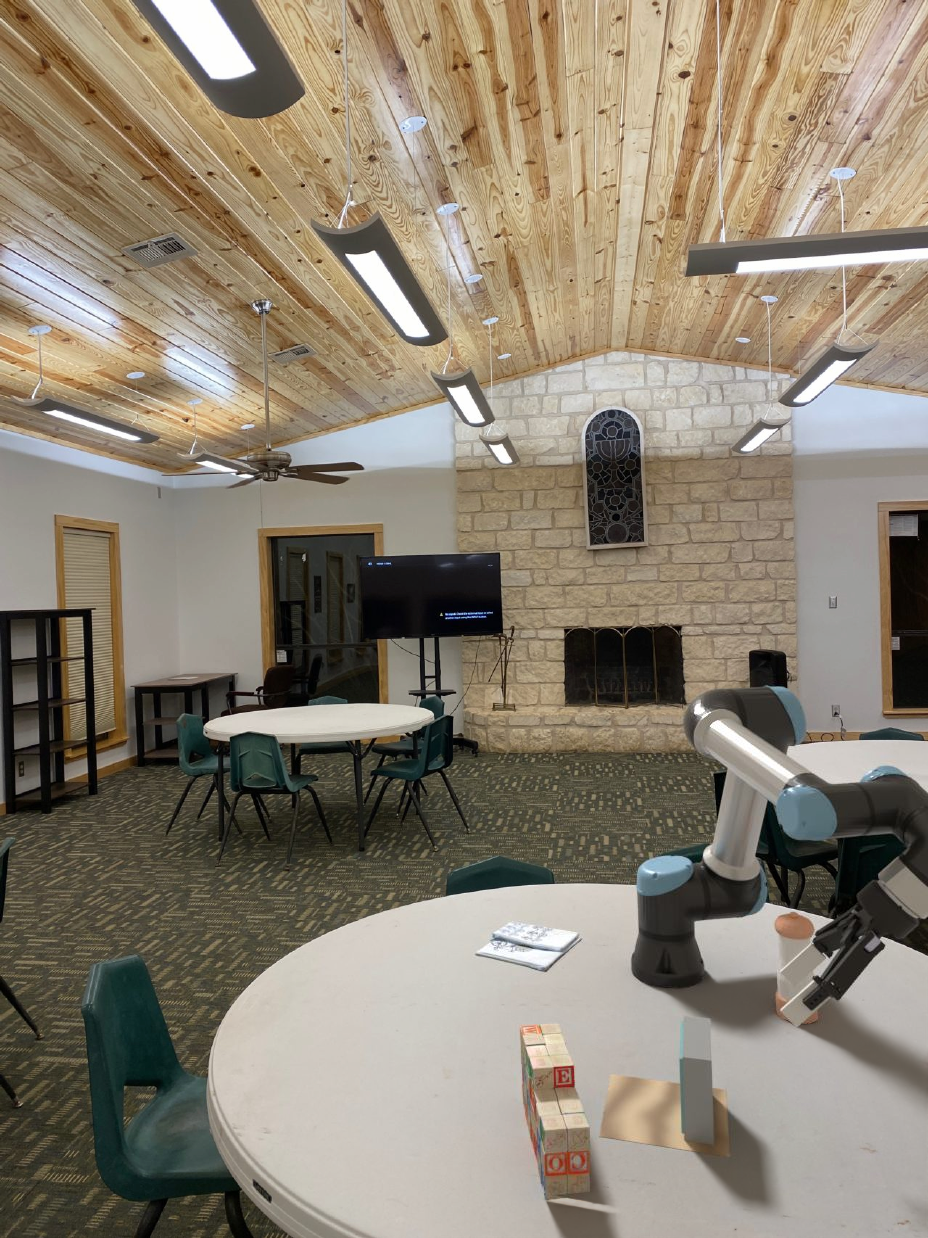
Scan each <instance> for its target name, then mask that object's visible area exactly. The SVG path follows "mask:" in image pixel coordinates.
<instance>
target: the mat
mask: <svg viewBox="0 0 928 1238" xmlns="http://www.w3.org/2000/svg"><path fill="white" fill-rule="evenodd" d="M608 1083H609V1084H608V1089H607V1093H606V1099H605V1104H604V1110H603V1114H602V1120H601V1127H600V1131H599V1135H598V1136H599V1138H605V1139H610V1140H611V1139H612V1140H617V1141H625V1142H631V1143H637V1144H642V1145H643V1144H644V1145H651V1146H654V1147H655V1146H656V1147H663V1148H670V1149H676V1150H680V1151H689V1152H694V1153H701V1154H707V1155H714V1156H720V1157H724V1158H725V1157H726V1158H731V1151H730V1137H729V1119H728V1103H727V1089H723V1088H716V1087H712V1090H713V1123H714V1145H710V1144H704V1143H697V1142H691V1141H685V1134H683V1133H682V1129H681V1096H680V1082H679V1083H678V1082H673V1081H672V1082H671V1081H666V1080H665V1081H663V1080H658V1079H657V1080H656V1079H648V1078H644V1077H643V1078H640V1077H635V1076H626V1075H619V1074H613V1073H612V1074H610V1077H609V1081H608Z"/></svg>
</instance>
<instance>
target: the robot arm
mask: <svg viewBox="0 0 928 1238" xmlns="http://www.w3.org/2000/svg"><path fill="white" fill-rule="evenodd" d="M683 731H684V732H683V733H684V734H685V737H686V739H687V742H688V743H689V744H690V745H691V747H692V748H693V749H694V750H695V751H696V752H698V753H699V755H701V756H703V757H705V758H707V759H711V760H717V761H718V762H719V763H720V764H722V765H723V766H725V767H726V768H727V770H726V776H725V780H724V785H723V791H722V796H721V800H720V806H719V811H718V816H717V821H716V827H715V831H714V837H713V841H712V843H711V844H709V845H708V846H706V847H705V849H704V850H703V853H702V858H701V861H700V862H695V863H694V862H692V860H690V859H689V858H688V857H684V856H681V855H673V856H672V855H662V856H661V855H660V856H657V857H652V858H650V859H647V860H646V861H643V863H641V865H640V866H639V867H638V869H637V877H636V884H635V888H636V896H637V897H636V898H637V916H638V917H637V920H638V921H637V925H638V926H637V927H638V934H637V938H636V942H635V945H634V951H633V952H632V955H631V959H630V964H631V965H630V968H631V972H632V974H633V975H634V976H635V977H636V978H637V979H639V980H640V981H642V982H644V983H646V984H650V985H652V986H656V987H657V986H658V987H664V988H687V987H690V986H694V985H697V984H699V983H700V982H702V981H703V980H704V979H705V975H706V972H705V962H704V959H703V958H702V954H701V951H700V947H699V945H698V942H697V939H696V933H695V931H696V930H695V928H696V927H695V923H696V922H700V921H701V922H702V921H711V920H723V919H734V918H735V919H736V918H737V919H739V918H744V917H747V916H748V917H749V916H754V915H756V914H757V913H759V912H760V911H761V910H762V909H763V907H764V906H765V904H766V900H767V897H768V886H767V884H766V883H767V876H766V873H765V871H764V869H763V867H762V866H761V863H760V862H759V859H758V858H757V857H756V852H757V850H758V849H757V848H758V844H759V841H760V836H761V831H762V826H763V821H764V819H765V814H766V808H767V804H768V801H769V802H770V803H771V804H773V805H774V806H775V810H776V815H777V820H778V822H779V825H781V827H782V829H783V832H784V833H785V834H786V835H787V836H788V837H790V838H792V839H794V840H796V841H812V842H813V841H815V842H818V841H824V840H829V839H840V838H841V839H842V838H852V837H861V836H862V837H863V836H874V835H876V836H877V835H887V834H893V835H894V836H895V837H897V839H898V840H899V841H900V842H901V843H902V844H903V845H904V846H906V847H907V848H906V849H905V850H903V851H902V853H901V854H900V855H898V856H897V857H895V858H894V859H893V860H892V861H891V862H890V863H889V864H888V865H886V867H884V868H883V869H882V870H881V871H880V872H879V873H878V874H877V875H878V880H877V879H871V881H870V882H868V883H867V884H866V885H865V886H864V887H863V888H862V889H860V891H859V892H858V893H857V894H856V899H857V901H858V902H857V903H856V904H855V905H853V906H852V907H851V908H849V910H847V911H846V912H844V913H843V914H841V915H839V916H838V917H836V918H835V919H833V920H832V921H830V922H828V924H826V925H824V926H822V927H820V928H819V929H818V930H815V931H814V936H815V937H814V938H813V939H812V941H811V942H810V944H809V945H808V946H807V947H806V948H805V949H804V950H803V951H801V952H800V953H799V954H798V955H797V956H796V957H795V958H794V959H793V960H791V961H790V962H789V963H788V964H787V965H786V966H785V967H784V968H783V969H781V970H780V973H781V974H783V975H784V976H785V977H786V978H787V979H788V980H789V981H790V982H791V983H792V984H793V985H794V986H796V985H797V984H798V983H799V982H800V981H802V980H803V979H804V978H805V977H806V976H807V975H808V974H809V973H811V972H812V971H813V972H814V970H815V969H817V967H819V966H820V965H821V964H822V963H823V962H824V961H825V960H827V958H828V959H831V958H832V956H833V955H834V952H836V951H837V952H836V954H835V955H834V956H833V958H832V960H831V961H830V962H829V963H828V965H827V966H826V968H825V969H824V971H823V973H822V974H821V975H818V974H817V975H814V976H813V977H812V979H813V981H812V982H810V983H809V984H808V985H807V986H806V987H805V988H804V989H803V990H801V991H800V992H799V993H798V994H797V995H796V996H795V997H794V998H792V999H791V1000H790V1001H789V1002H788V1003H787V1004H786V1005H785V1006H783V1007H782V1008H781V1012H782V1013H783V1014H784V1015H785V1016H786V1017H787V1018H788V1019H789V1020H790V1021H791V1022H790V1021H789V1022H790V1023H792V1025H794V1027H795V1028H798V1027H800V1026H801V1023H803V1022H804V1021H805V1020H806V1019H807V1018H808V1017H809V1016H811V1015H812V1014H813V1013H814V1012H815V1011H816V1010H817V1009H820V1008H821V1007H822V1006H823V1005H824V1004H826V1002H828V1001H829V1000H830V999H834V1000H835V1001H840V1000H841V999H842V998H843V996H844V995H845V994H846V993H847V992H848V990H849V989H850V988H851V987H852V986H853V984H854V983H855V982H856V980H857V979H858V978H859V977H860V976H861V974H862V973H863V972H864V970H866V968H867V967H868V966H869V964H870V963H871V962H872V961H873V960H874V959H875V957H877V956H878V955H879V954H880V953H881V952H882V951H883V950H884V949H885V947H886V944H885V943H884V942H883V941H882V940H881V939H882V937H883V936H884V934H886V933H888V934H890V935H891V936H892V937H894V938H896V939H897V940H902V939H905V938H906V937H907V936H908V935H909V934H910V933H911V932H912V931H914V929H915V928H917V927H918V926H919V925H920V920H919V919H918V918H920V919H924V920H925V919H927V918H928V791H927V790H926V789H924V788H923V787H922V786H921V785H920V783H918V782H917V781H916V780H915V779H914V778H912V777H911V776H909V775H907V774H906V773H905V772H903V770H901V769H899V768H898V767H896V766H893V765H879V766H877V767H876V768H875V769H871V770H868V771H867V772H866V773H865V774H864V775H863V776H862V777H861V779H860V780H859V781H858V782H843V783H830V782H828V781H826V780H825V779H824V778H821V777H819V775H817V774H815V773H814V772H812V771H811V770H810V769H808V768H806V767H805V766H804V765H802V764H801V763H799V762H797V760H795V759H793V758H791V757H790V756H789V755H788V749H789V747H795V746H797V745H799V744H801V743H802V742H803V741H804V740H805V737H806V736H807V718H806V714H805V711H804V709H803V705H802V704H801V701H800V700H799V698H798V696H797V695H796V694H795V693H794V692H793V691H792V690H790V689H789V688H786V687H785V686H769V685H764V686H757V687H755V686H754V687H753V686H752V687H736V688H735V687H734V688H733V687H732V688H716V689H715V688H713V689H710V690H706V691H705V692H702V693H701V694H699V695H698V696H696V697H695V698H694V699H693V700H692V701H691V702H690V703H689V705H688V707H687V708H686V710H685V713H684V716H683Z"/></svg>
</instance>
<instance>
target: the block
mask: <svg viewBox="0 0 928 1238" xmlns="http://www.w3.org/2000/svg"><path fill="white" fill-rule="evenodd" d="M711 1029H712V1028H711V1018H707V1017H698V1016H688V1015H683V1021H682V1020H680V1031H679V1033H680V1034H679V1054H678V1055H679V1058H678V1059H679V1060H678V1061H679V1062H678V1063H679V1083H680V1096H681V1129H682V1133H683V1134H685V1141H691V1142H697V1143H704V1144H710V1145H714V1123H713V1090H712V1088H713V1072H712V1071H713V1068H712V1067H713V1065H712V1064H713V1063H712V1062H713V1061H712V1060H713V1059H712V1057H713V1056H712V1033H711V1032H712V1030H711Z"/></svg>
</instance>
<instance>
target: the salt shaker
mask: <svg viewBox="0 0 928 1238" xmlns="http://www.w3.org/2000/svg"><path fill="white" fill-rule="evenodd" d="M773 926H774V929H775V931H776V933H777V934H778V947H779V948H778V949H779V951H778V953H779V956H778V960H777V961H778V962H777V971H776V982H777V983H776V986H777V990H776V992H775V1012H776V1014H777V1015H778V1016H779V1018H781V1019H783V1020H785V1019H786V1020H785V1021H787V1020H788V1022H790V1023H792V1022H791V1021H790V1020H789V1019H788V1018H787V1017H786V1016H785V1015H784V1014H783V1013H782V1012H781V1008H782V1007H783V1006H785V1005H786V1004H787V1003H788V1002H789V1001H790V1000H791V999H792V998H794V997H795V996H796V995H797V994H798V993H799V992H800V991H801V990H803V989H804V988H805V987H806V986H807V985H808V984H809V983H810V982H812V981H813V979H812V977H813V976H815V974H814V970H813V971H812V972H811V973H809V974H808V975H807V976H806V977H805V978H804V979H803V980H802V981H800V982H799V983H798V984H797V985H796V986H794V985H793V984H792V983H791V982H790V981H789V980H788V979H787V978H786V977H785V976H784V975H783V974H781V973H780V970H781V969H783V968H784V967H785V966H786V965H787V964H788V963H789V962H790V961H791V960H793V959H794V958H795V957H796V956H797V955H798V954H799V953H800V952H801V951H803V950H804V949H805V948H806V947H807V946H808V945H809V944H810V943H811V938H812V937H813V935H815V932H816V930H815V926H814V923H812V921H811V919H809V918H808V917H806V916H803V915H802V914H798V912H796V911H790V912H789V913H784V914H781V915H778V916H777V918H776V919H775V920H774V922H773ZM818 1019H819V1010H818V1009H817V1010H816V1011H815V1012H814V1013H813V1014H812V1015H811V1016H809V1017H808V1018H807V1019H806V1020H805V1021H804V1022H803V1023H802V1025H806V1024H807V1023H808V1024H811V1023H812V1022H813V1023H815V1022H817V1020H818ZM813 1023H812V1024H813Z"/></svg>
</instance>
